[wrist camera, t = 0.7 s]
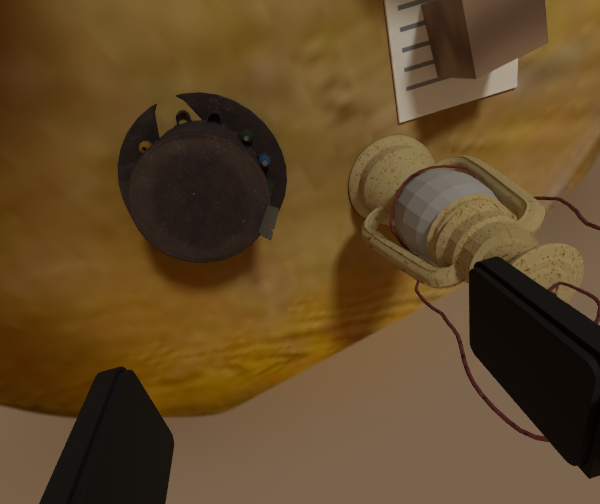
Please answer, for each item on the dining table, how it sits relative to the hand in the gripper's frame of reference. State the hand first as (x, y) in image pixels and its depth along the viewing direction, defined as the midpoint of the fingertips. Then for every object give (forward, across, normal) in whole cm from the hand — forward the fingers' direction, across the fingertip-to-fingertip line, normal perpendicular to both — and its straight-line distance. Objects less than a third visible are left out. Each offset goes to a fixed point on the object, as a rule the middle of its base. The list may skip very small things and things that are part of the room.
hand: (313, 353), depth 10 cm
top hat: (+28, +5, +1) cm, 28 cm away
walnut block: (+27, -20, -6) cm, 34 cm away
